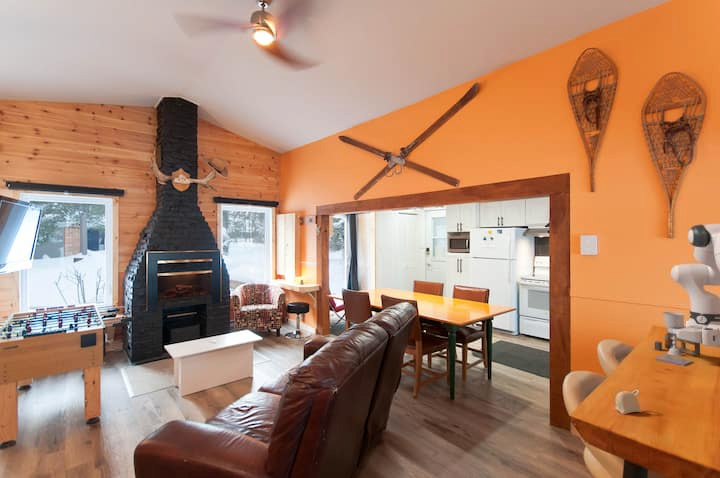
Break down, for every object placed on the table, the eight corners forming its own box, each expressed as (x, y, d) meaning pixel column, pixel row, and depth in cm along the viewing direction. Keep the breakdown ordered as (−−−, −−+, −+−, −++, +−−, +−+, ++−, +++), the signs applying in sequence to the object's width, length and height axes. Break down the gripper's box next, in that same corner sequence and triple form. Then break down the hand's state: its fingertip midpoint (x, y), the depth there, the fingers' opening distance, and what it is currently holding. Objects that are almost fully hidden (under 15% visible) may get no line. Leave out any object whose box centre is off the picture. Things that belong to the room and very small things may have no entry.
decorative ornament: (609, 408, 100) (609, 389, 100) (634, 406, 101) (634, 387, 101) (622, 414, 96) (622, 395, 96) (648, 412, 97) (647, 393, 97)
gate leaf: (663, 347, 160) (663, 334, 160) (667, 346, 160) (667, 334, 160) (696, 356, 146) (696, 342, 147) (701, 355, 147) (700, 341, 147)
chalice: (660, 352, 153) (659, 312, 153) (668, 351, 155) (667, 311, 156) (681, 357, 146) (680, 315, 147) (689, 355, 149) (688, 314, 149)
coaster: (664, 356, 148) (664, 354, 148) (692, 362, 140) (692, 360, 140) (655, 359, 143) (655, 358, 143) (684, 365, 136) (684, 364, 136)
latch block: (657, 348, 159) (657, 341, 159) (661, 349, 158) (661, 341, 158) (654, 349, 158) (654, 341, 158) (659, 350, 156) (659, 342, 156)
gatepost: (668, 347, 162) (668, 332, 162) (673, 348, 160) (673, 333, 160) (667, 347, 161) (666, 332, 161) (672, 348, 159) (671, 333, 159)
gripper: (723, 325, 145) (680, 319, 157) (705, 330, 135) (661, 324, 147) (723, 340, 145) (681, 333, 157) (706, 346, 135) (662, 338, 147)
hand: (671, 328), depth 152 cm, fingers closed on chalice, 6 cm apart
